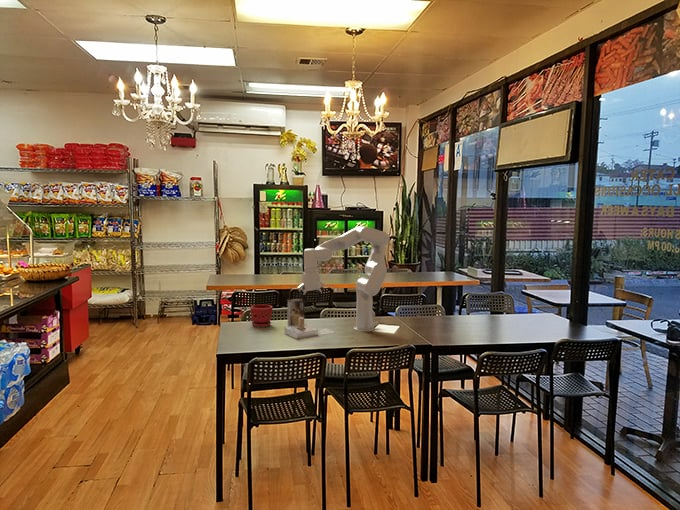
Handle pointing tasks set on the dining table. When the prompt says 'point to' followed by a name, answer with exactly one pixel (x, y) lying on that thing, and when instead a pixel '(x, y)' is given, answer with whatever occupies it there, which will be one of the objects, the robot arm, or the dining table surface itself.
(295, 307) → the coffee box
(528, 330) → the dining table surface
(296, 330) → the socket block
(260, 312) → the plant pot
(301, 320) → the peg
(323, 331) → the mat
